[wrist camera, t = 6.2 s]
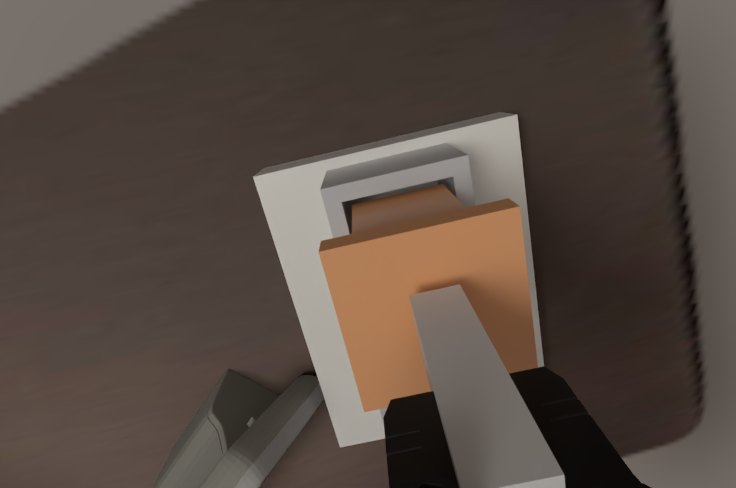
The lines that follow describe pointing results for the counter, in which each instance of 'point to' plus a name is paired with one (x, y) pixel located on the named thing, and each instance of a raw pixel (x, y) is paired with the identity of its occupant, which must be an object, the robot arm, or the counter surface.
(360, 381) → the orange plunger
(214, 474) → the digital clock
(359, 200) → the button console
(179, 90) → the counter surface
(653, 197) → the counter surface
